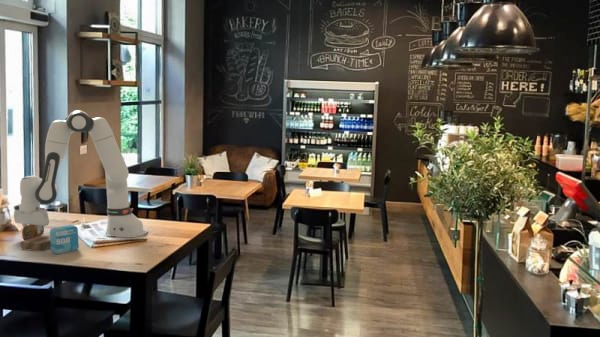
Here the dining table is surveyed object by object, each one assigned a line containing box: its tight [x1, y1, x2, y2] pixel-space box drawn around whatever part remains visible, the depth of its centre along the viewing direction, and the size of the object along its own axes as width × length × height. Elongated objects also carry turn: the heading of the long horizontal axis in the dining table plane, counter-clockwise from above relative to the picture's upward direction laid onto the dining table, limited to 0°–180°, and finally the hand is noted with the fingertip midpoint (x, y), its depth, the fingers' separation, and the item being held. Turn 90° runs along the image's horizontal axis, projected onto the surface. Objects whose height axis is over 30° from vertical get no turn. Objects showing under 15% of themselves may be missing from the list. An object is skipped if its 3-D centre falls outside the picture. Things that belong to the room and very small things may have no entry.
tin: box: [21, 224, 45, 241], centre depth 314 cm, size 15×3×8 cm, turn 168°
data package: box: [49, 224, 80, 255], centre depth 293 cm, size 12×4×12 cm, turn 137°
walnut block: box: [20, 231, 51, 252], centre depth 305 cm, size 12×20×4 cm, turn 163°
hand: (32, 232), depth 314 cm, fingers open, 6 cm apart
